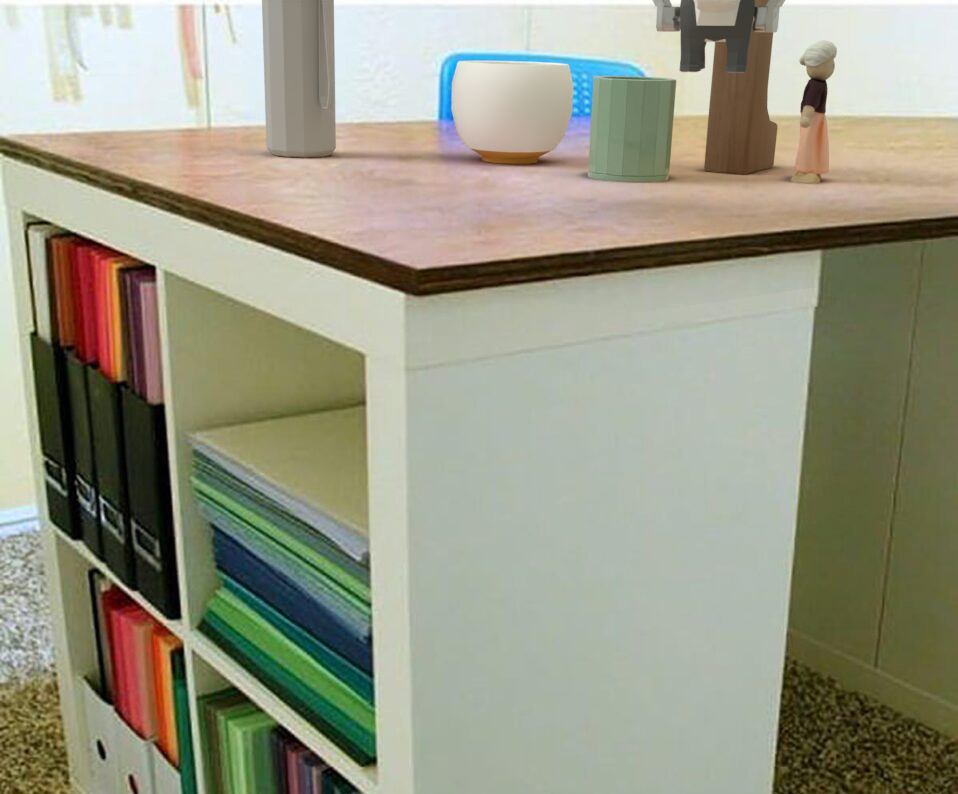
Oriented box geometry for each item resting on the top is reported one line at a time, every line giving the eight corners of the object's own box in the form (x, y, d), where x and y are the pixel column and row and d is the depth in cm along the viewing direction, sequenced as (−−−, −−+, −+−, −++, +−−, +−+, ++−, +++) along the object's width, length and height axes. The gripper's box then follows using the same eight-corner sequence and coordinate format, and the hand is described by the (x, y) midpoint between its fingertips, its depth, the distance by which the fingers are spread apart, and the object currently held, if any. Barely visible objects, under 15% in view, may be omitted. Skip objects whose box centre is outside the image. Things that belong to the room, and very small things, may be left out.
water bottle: (249, 154, 134) (239, -113, 125) (312, 150, 139) (306, -106, 130) (300, 162, 128) (294, -118, 119) (364, 158, 133) (362, -111, 124)
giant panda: (681, 67, 105) (688, -61, 102) (750, 68, 104) (760, -61, 101) (670, 74, 92) (678, -73, 88) (750, 75, 91) (761, -74, 87)
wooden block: (733, 164, 136) (750, -20, 130) (774, 168, 134) (794, -19, 128) (702, 172, 129) (719, -23, 123) (745, 175, 127) (765, -23, 120)
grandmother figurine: (831, 186, 120) (848, 41, 116) (789, 184, 121) (804, 40, 116) (823, 177, 128) (839, 40, 123) (784, 175, 128) (798, 39, 124)
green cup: (678, 177, 124) (686, 78, 121) (653, 185, 118) (660, 81, 115) (604, 171, 127) (610, 75, 124) (575, 178, 121) (580, 77, 118)
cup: (425, 159, 133) (426, 60, 130) (508, 153, 142) (511, 60, 138) (512, 171, 125) (516, 65, 122) (594, 163, 134) (599, 65, 130)
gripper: (885, -176, 91) (863, 33, 96) (612, -161, 100) (604, 30, 104) (869, -189, 86) (847, 33, 91) (582, -172, 94) (576, 31, 99)
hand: (715, 32), depth 98 cm, fingers closed on giant panda, 6 cm apart
